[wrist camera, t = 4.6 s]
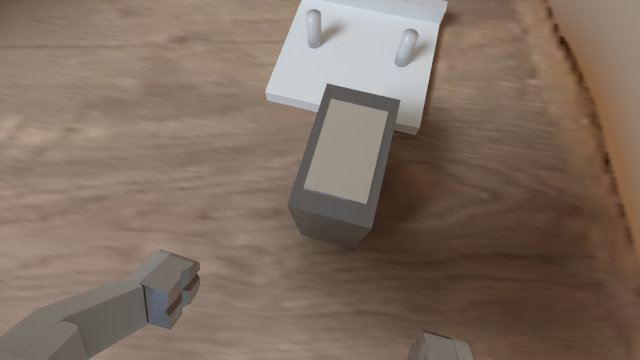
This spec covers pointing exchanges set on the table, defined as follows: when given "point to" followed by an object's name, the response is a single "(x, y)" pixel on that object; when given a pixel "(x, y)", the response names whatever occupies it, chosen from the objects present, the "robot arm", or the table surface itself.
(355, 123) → the block
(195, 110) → the table surface
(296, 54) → the white pegged base
